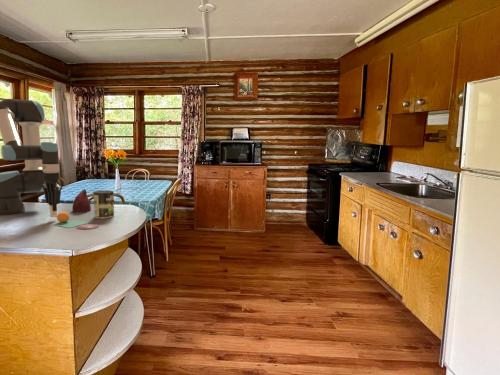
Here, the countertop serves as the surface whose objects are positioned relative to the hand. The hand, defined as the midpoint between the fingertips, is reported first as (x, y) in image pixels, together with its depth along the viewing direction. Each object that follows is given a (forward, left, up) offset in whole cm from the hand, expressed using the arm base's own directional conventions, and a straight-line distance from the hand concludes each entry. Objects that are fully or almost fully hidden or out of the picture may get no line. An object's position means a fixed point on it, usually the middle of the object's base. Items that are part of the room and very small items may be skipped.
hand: (53, 217), depth 175 cm
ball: (+8, 0, +1) cm, 8 cm away
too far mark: (+26, 0, -2) cm, 26 cm away
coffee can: (+14, +20, -2) cm, 25 cm away
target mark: (+14, 0, -2) cm, 14 cm away
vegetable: (-10, +24, -2) cm, 26 cm away
